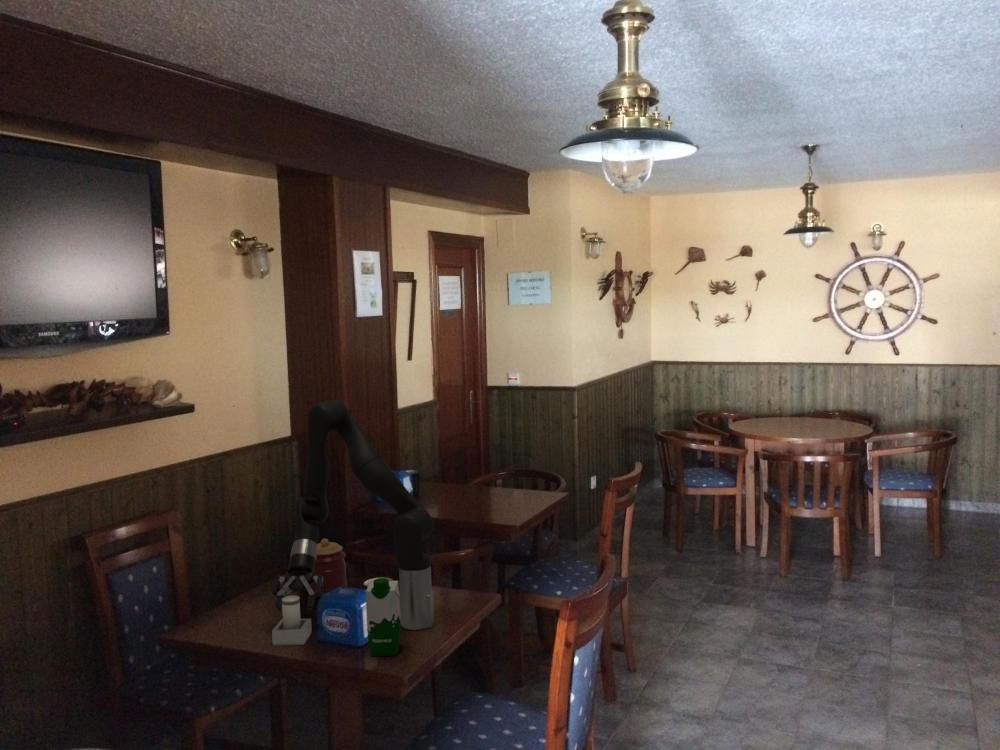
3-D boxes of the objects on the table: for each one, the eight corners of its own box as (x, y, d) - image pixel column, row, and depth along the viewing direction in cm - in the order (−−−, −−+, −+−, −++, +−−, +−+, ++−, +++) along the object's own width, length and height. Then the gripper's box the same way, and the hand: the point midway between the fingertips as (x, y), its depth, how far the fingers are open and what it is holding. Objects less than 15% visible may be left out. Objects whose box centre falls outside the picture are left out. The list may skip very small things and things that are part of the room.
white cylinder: (303, 633, 236) (301, 595, 235) (298, 639, 231) (296, 601, 230) (286, 633, 236) (284, 595, 235) (281, 640, 231) (279, 601, 230)
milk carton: (366, 658, 219) (362, 584, 217) (371, 644, 228) (368, 573, 226) (399, 656, 219) (396, 582, 217) (403, 643, 228) (400, 571, 226)
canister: (319, 601, 263) (316, 546, 262) (300, 591, 273) (297, 539, 271) (355, 591, 272) (352, 538, 270) (335, 582, 281) (332, 531, 280)
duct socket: (311, 632, 238) (311, 618, 237) (303, 644, 229) (302, 630, 229) (282, 633, 238) (281, 619, 238) (272, 645, 229) (271, 630, 229)
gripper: (276, 552, 244) (265, 604, 233) (324, 551, 243) (315, 603, 233) (282, 564, 249) (272, 616, 239) (329, 563, 249) (321, 615, 238)
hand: (294, 609), depth 236 cm, fingers open, 8 cm apart
